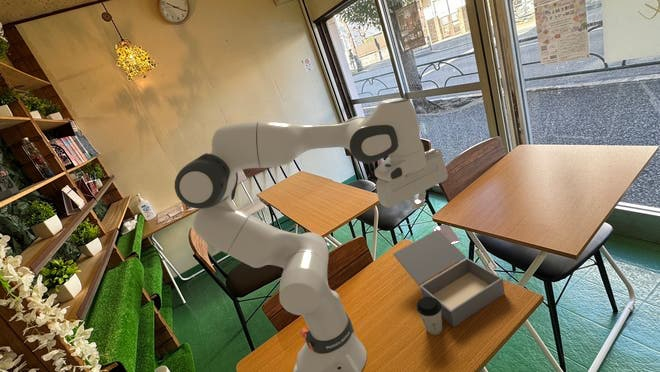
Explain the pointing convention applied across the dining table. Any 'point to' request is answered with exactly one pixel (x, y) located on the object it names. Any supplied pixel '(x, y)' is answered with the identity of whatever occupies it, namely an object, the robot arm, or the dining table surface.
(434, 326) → the coffee cup
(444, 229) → the mobile phone
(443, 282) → the mailer box
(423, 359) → the dining table surface
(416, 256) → the mailer lid
